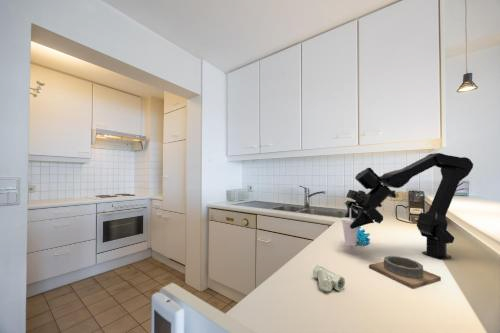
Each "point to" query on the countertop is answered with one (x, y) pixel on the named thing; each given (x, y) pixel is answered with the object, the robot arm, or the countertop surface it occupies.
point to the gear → (362, 237)
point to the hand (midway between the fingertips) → (346, 225)
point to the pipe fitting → (328, 279)
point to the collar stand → (405, 271)
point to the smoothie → (349, 231)
